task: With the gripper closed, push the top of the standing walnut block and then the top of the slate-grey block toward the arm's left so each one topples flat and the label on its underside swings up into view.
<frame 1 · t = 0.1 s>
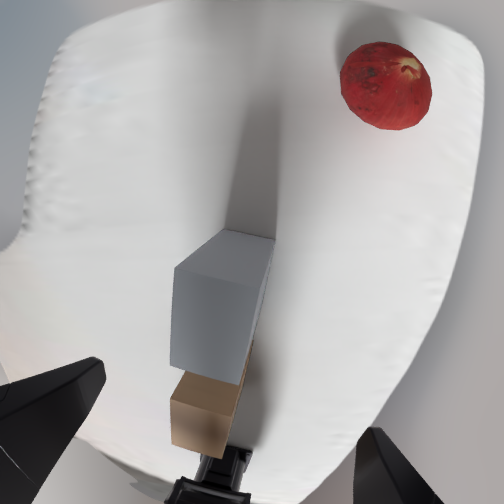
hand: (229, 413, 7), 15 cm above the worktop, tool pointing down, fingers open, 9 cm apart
grey block: (242, 271, 22), on the worktop
onion: (371, 100, 17), on the worktop
walnut block: (226, 359, 24), on the worktop
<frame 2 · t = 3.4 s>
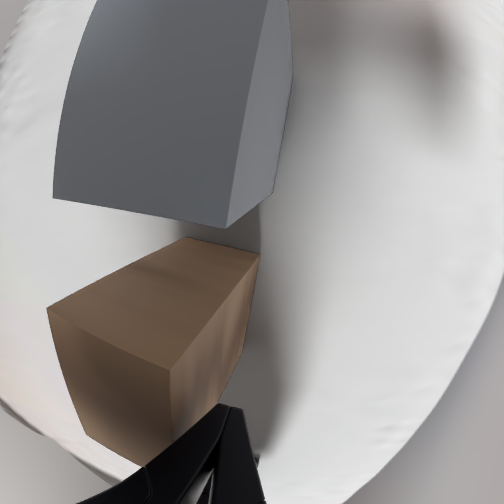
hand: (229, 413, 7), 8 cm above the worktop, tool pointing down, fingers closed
grey block: (241, 124, 12), on the worktop
walnut block: (214, 298, 15), on the worktop
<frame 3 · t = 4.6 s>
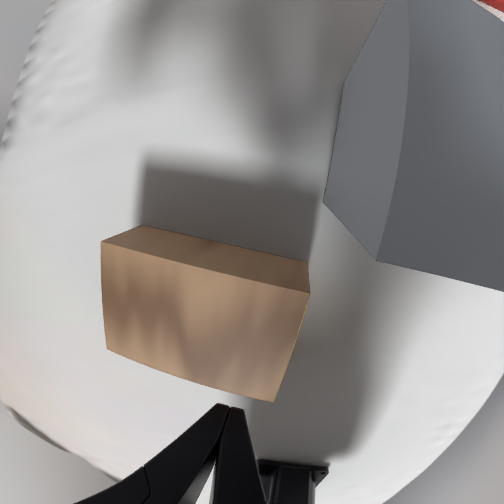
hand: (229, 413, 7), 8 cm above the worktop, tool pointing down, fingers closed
grey block: (375, 151, 12), on the worktop
walnut block: (291, 331, 13), point 2 cm above the worktop, tilted 90°
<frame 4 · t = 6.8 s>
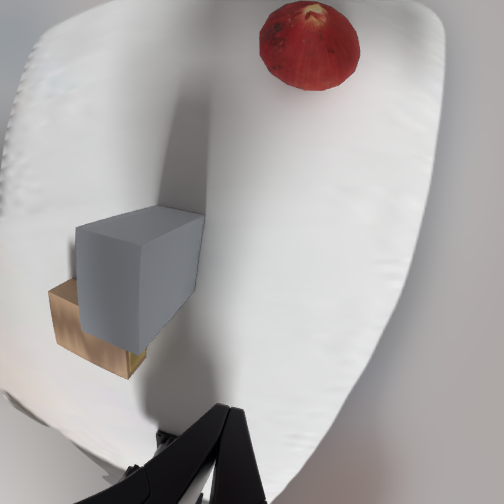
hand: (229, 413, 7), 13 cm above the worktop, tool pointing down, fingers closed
grey block: (174, 248, 21), on the worktop
onion: (307, 68, 16), on the worktop
walnut block: (136, 342, 22), point 2 cm above the worktop, tilted 90°
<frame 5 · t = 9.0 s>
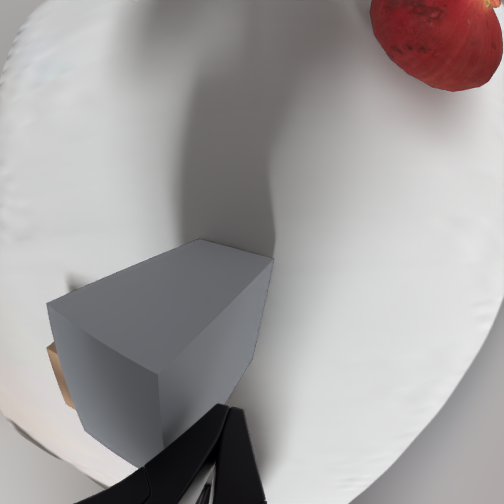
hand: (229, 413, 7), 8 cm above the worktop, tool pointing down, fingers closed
grey block: (226, 302, 15), on the worktop, tilted 10°
onion: (407, 57, 10), on the worktop
walnut block: (172, 409, 16), point 2 cm above the worktop, tilted 90°
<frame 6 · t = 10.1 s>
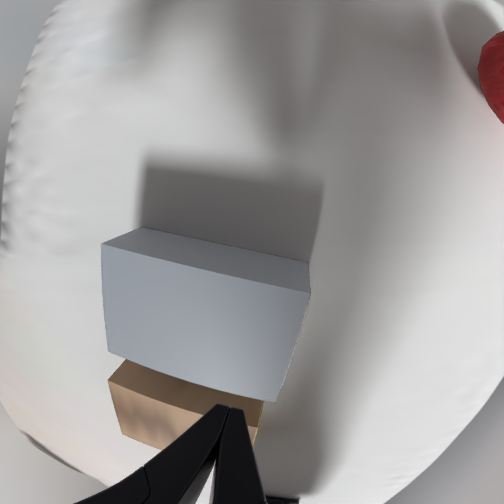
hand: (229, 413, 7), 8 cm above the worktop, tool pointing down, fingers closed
grey block: (293, 332, 13), point 2 cm above the worktop, tilted 90°
onion: (489, 97, 9), on the worktop
walnut block: (254, 430, 15), point 2 cm above the worktop, tilted 90°
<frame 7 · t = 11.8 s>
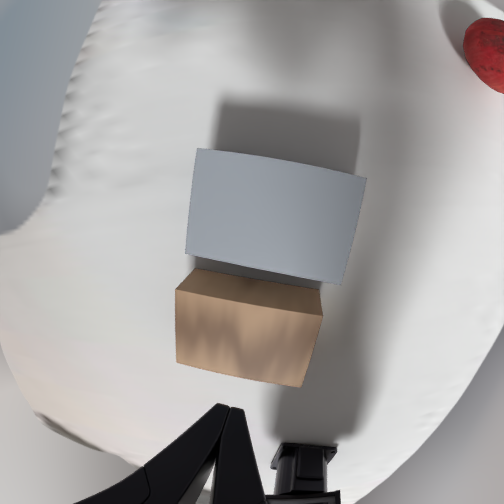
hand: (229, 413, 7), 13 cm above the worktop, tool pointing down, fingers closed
grey block: (348, 225, 16), point 2 cm above the worktop, tilted 90°
onion: (474, 67, 12), on the worktop
walnut block: (310, 338, 19), point 2 cm above the worktop, tilted 90°
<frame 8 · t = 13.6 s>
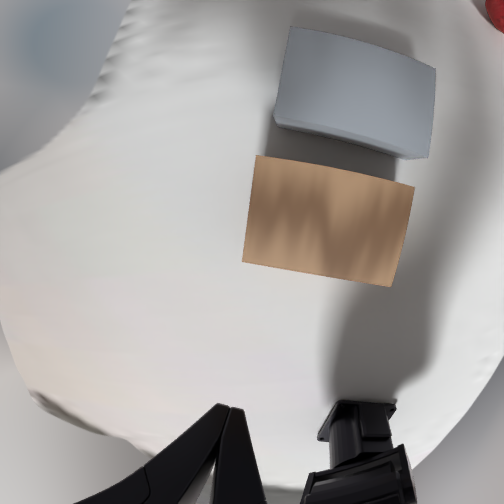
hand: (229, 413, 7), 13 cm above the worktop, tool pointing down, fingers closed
grey block: (420, 116, 14), point 2 cm above the worktop, tilted 90°
onion: (494, 26, 10), on the worktop
walnut block: (393, 231, 16), point 2 cm above the worktop, tilted 90°
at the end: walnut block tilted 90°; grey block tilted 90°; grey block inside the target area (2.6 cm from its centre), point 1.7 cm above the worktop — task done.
